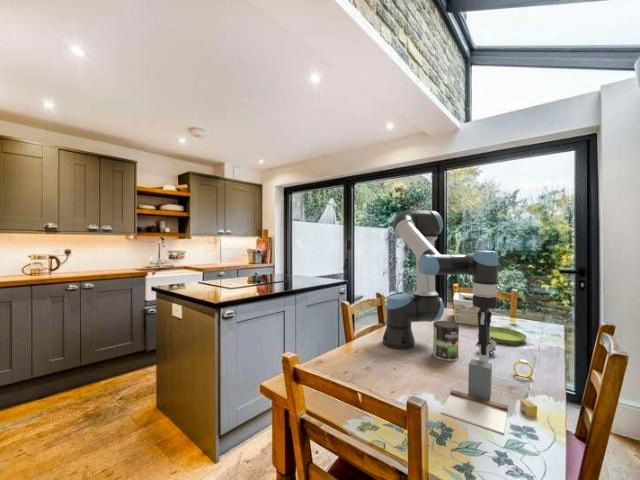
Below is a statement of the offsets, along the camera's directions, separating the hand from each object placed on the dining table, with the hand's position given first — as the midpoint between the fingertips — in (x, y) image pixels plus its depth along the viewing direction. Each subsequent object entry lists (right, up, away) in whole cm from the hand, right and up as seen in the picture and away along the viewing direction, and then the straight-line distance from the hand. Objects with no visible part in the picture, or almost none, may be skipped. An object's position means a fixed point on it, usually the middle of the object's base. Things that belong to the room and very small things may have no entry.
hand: (483, 362), depth 104 cm
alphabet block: (+5, -9, -15) cm, 18 cm away
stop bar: (-7, -9, -9) cm, 14 cm away
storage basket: (+35, -7, +83) cm, 90 cm away
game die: (+18, -8, +31) cm, 36 cm away
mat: (-11, -9, -15) cm, 21 cm away
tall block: (-5, -9, -6) cm, 12 cm away
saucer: (+36, -8, +49) cm, 62 cm away
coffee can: (-2, -8, +27) cm, 28 cm away
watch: (+19, -9, +9) cm, 23 cm away
